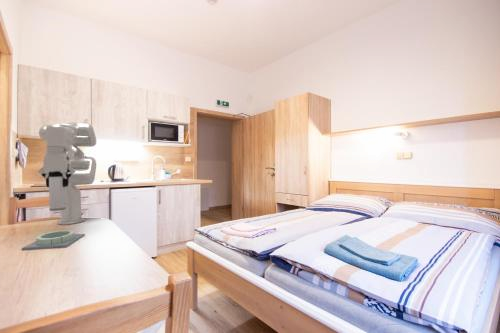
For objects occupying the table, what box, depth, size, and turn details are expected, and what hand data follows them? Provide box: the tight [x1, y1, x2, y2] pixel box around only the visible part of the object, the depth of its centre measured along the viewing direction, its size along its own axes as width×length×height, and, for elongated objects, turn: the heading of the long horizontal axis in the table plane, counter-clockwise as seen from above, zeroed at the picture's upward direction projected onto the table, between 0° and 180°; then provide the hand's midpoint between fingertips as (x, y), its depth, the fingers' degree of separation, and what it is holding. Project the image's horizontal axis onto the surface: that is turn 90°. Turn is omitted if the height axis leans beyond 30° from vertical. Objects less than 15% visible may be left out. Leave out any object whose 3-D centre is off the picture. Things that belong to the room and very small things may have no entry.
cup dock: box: [21, 229, 86, 251], centre depth 106 cm, size 16×16×4 cm
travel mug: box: [48, 171, 66, 212], centre depth 117 cm, size 6×7×20 cm
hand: (57, 186), depth 117 cm, fingers closed on travel mug, 6 cm apart
